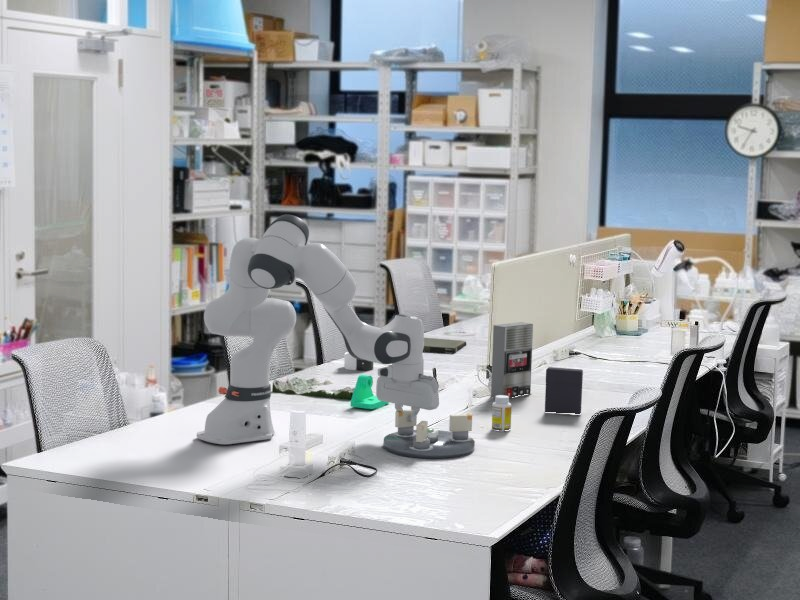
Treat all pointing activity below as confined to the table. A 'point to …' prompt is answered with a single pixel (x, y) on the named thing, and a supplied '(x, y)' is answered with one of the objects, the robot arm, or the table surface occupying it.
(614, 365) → the table surface
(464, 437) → the knob right
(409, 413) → the cream block orange corner
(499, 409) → the supplement bottle
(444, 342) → the network switch
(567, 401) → the calculator
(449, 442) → the tribrach disc
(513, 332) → the cassette tape recorder
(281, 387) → the topographic map model
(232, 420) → the robot arm
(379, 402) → the camera mount
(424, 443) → the knob left
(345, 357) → the white cylinder
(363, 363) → the supplement bottle
